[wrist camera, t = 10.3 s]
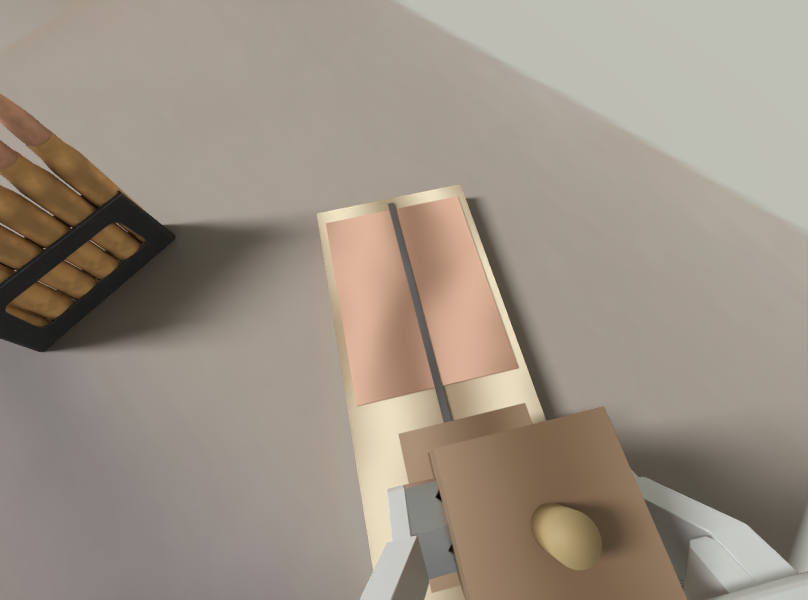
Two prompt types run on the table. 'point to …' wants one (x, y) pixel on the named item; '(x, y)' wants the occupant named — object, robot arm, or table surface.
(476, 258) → the maple board
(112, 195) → the ammunition clip
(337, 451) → the table surface
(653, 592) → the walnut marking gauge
